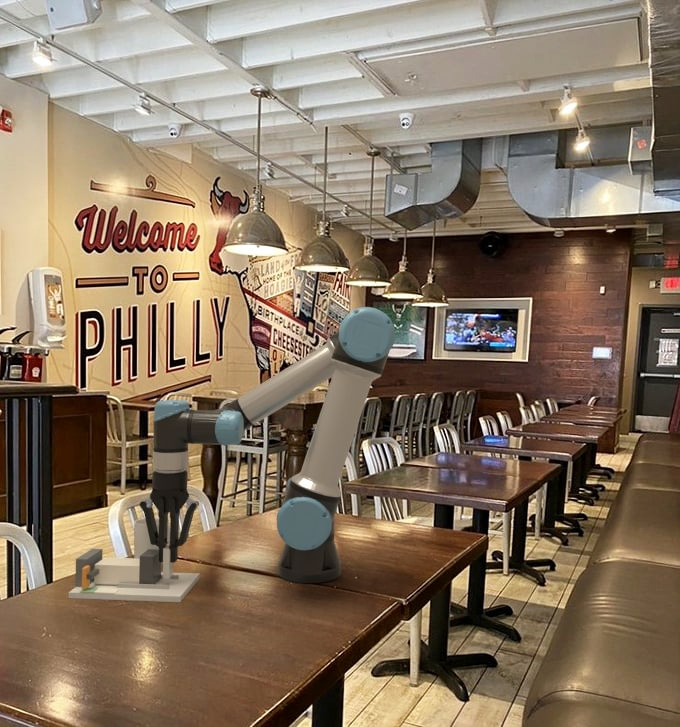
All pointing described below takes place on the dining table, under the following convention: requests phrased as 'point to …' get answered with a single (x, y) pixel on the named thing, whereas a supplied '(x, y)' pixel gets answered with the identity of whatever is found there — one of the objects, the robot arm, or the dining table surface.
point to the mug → (144, 537)
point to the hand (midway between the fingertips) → (167, 576)
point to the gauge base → (131, 585)
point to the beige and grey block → (128, 569)
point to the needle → (85, 577)
